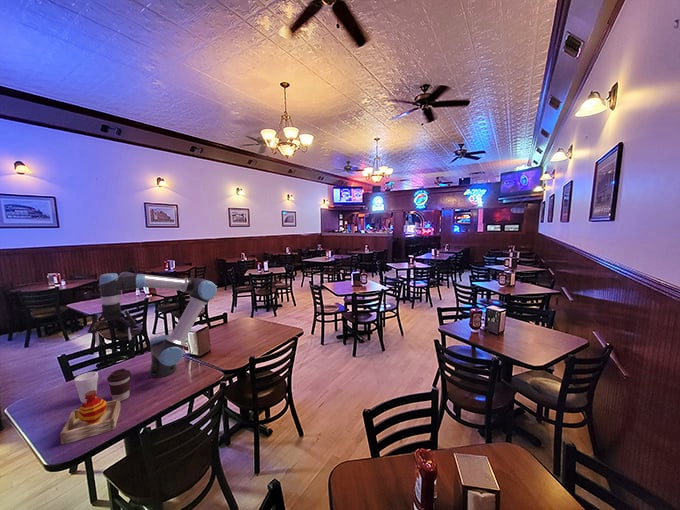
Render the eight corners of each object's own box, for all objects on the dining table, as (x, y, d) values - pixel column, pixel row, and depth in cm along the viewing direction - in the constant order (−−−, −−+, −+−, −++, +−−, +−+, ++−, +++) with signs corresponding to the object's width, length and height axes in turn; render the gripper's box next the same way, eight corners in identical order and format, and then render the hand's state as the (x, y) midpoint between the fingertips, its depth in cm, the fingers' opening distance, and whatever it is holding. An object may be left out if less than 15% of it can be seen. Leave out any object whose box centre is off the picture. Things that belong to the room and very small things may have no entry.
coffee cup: (136, 394, 156) (134, 369, 154) (117, 405, 146) (115, 378, 145) (124, 391, 159) (122, 366, 157) (105, 401, 150) (102, 374, 148)
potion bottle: (90, 416, 137) (87, 387, 135) (113, 414, 138) (110, 385, 136) (72, 431, 127) (68, 400, 125) (96, 430, 128) (93, 399, 126)
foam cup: (86, 405, 146) (83, 382, 145) (72, 403, 148) (69, 380, 147) (104, 394, 156) (102, 372, 154) (91, 392, 157) (89, 370, 156)
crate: (120, 407, 145) (119, 398, 144) (114, 429, 129) (113, 419, 129) (73, 420, 136) (72, 409, 135) (61, 445, 120) (60, 433, 120)
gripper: (140, 298, 157) (143, 334, 159) (81, 304, 144) (85, 344, 146) (139, 301, 150) (142, 339, 153) (77, 308, 138) (81, 349, 140)
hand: (114, 341), depth 150 cm, fingers open, 13 cm apart
